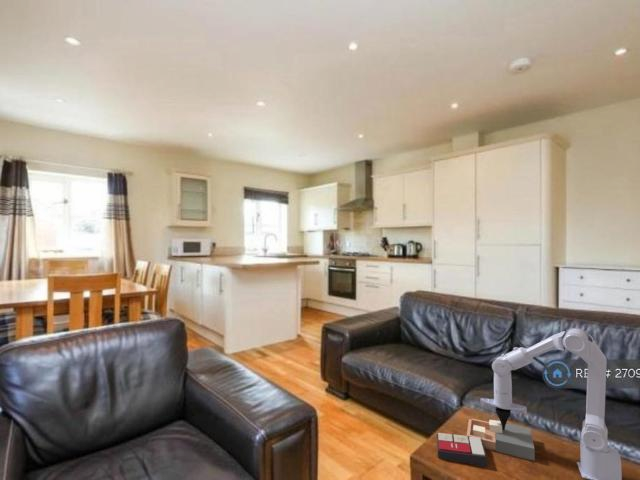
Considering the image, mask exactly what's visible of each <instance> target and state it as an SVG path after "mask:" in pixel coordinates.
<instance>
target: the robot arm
mask: <svg viewBox="0 0 640 480" xmlns="http://www.w3.org/2000/svg"><path fill="white" fill-rule="evenodd" d="M552 350H559V351H561V352H563V351H565V350H567V351H569V352H570V353H572V354H574V355H576V356H578V357H580V358H581V360H582V361H584V362H585V363H586V364H587V376H586V377H587V378H586V402H585V403H586V404H585V405H586V406H585V411H586V412H585V419H584V420H583V421H582V426H581V427H582V430H581V433H580V439H579V445H580V447H579V449H580V451H579V452H580V454H579V455H580V456H579V457H580V459H579V460H580V461H576V464H577V467H578V470H579V473H580V475H581V477H582V478H583V479H586V480H622V479H623V478H622V477H623V475H622V474H623V473H622V472H623V471H622V459H621V456H620V453H619V451H618V450H617V449H616V448H612V447H610V445H609V443H608V434H609V431H608V428H607V426H606V423H605V415H606V413H605V411H606V389H607V388H606V384H607V364H608V362H607V357H606V355H605V354H604V352H602V350H601V348H600V347H599V345H598V344H597V343H596V341H595V340H594V338H593V336H592V335H590V333H587V331H585V330H584V329H582V328H578V327H572V328H569V329H567V331H566V330H564V331H560V332H559V333H556V334H553V335H551V336H549V337H547V338H545V339H543V340H541V341H540V342H538V343H535V344H533V345H532V346H529V347H528V348H526V347H524V346H523V347H517V346H516V347H513V348H512V351H509V352H507V353H502V354H501V355H500V356H498V357H496V358H495V360H493V362H492V363H491V369H492V370H493V398H483V397H481V398H480V406H483V407H484V406H485V407H486V406H488V407H491V408H495V413H496V414H497V417H498V418H499V421H500V422H501V425H502V430H505V425H506V423H507V422H508V420H509V418H510V417H511V414H512V413H511V411H512V412H517V413H522V414H524V415H527V414H528V411H527V410H528V409H527V406H525V405H521V404H517V403H514V402H513V387H512V386H513V385H512V384H513V383H512V381H513V380H512V371H516V370H518V369H521V368H523V367H525V366H528V365H530V364H532V363H533V358H536V357H538V356H541V355H543V354H545V353H547V352H549V351H552Z"/></svg>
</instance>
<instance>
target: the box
mask: <svg viewBox="0 0 640 480" xmlns="http://www.w3.org/2000/svg"><path fill="white" fill-rule="evenodd" d="M467 423H468V424H467V428H466V429H467V431H466V436H468V437H476V436H473V425H477V426H481V427H485V438H481V437H476V438H481V439H482V442H483V445H484V449H485V450H490V451H493V452H496V433H495V432H490V427H489V421H485V420H481V419H476V418H471V417H468V422H467Z"/></svg>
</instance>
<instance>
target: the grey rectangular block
mask: <svg viewBox="0 0 640 480" xmlns="http://www.w3.org/2000/svg"><path fill="white" fill-rule="evenodd" d="M502 433H503V434H502ZM502 433H495V438H496V451H495V452H498V453H501V454H505V455H509V456H513V457H516V458H521V459H525V460H530V461H534V462H535V461H536V460H535V459H536V457H535V456H536V455H535V454H536V452H535V445H534V444H535V443H534V441H533V435H532V430H531V427H526V426H521V425H517V424H512V423H507V422H506V425H505V430H502Z"/></svg>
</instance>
